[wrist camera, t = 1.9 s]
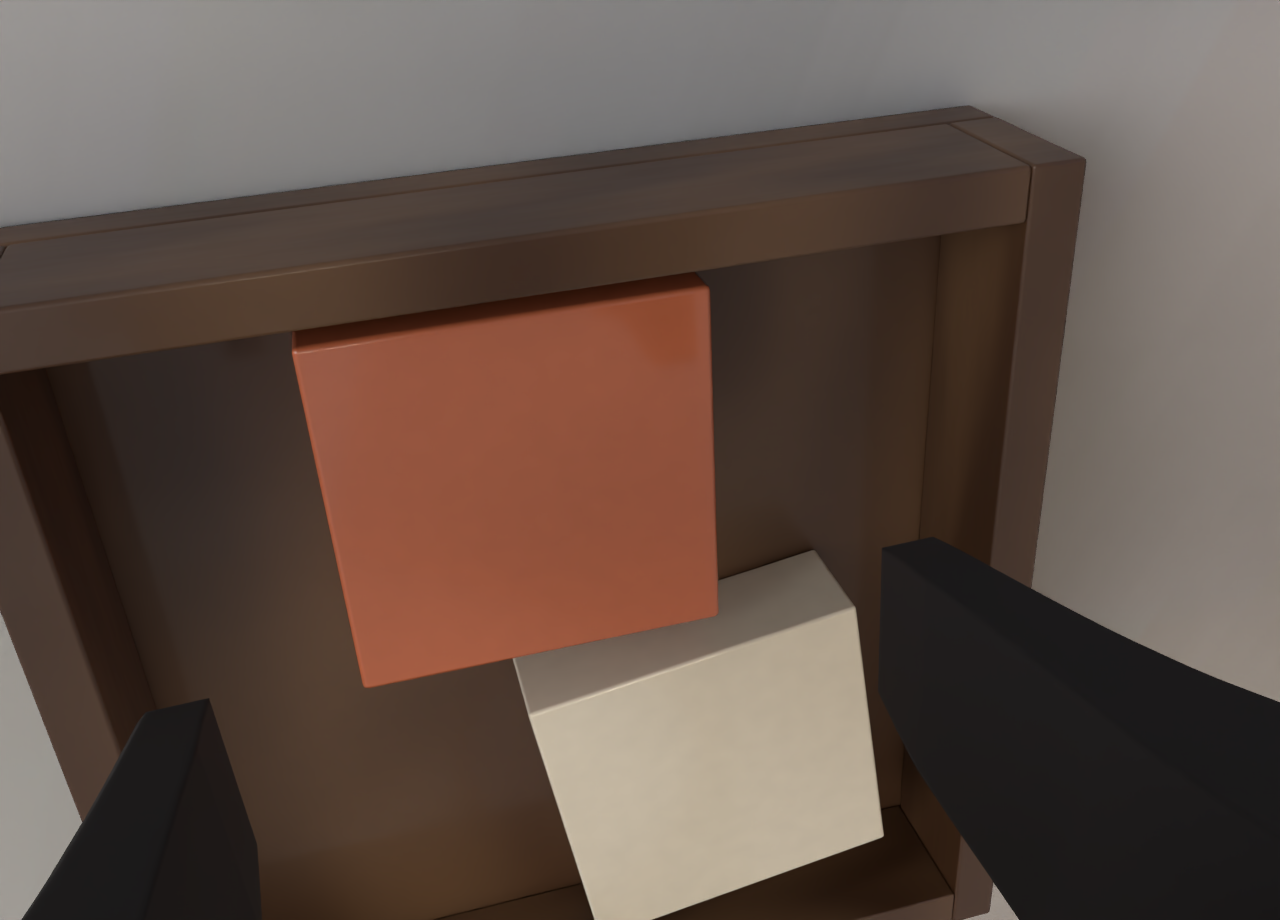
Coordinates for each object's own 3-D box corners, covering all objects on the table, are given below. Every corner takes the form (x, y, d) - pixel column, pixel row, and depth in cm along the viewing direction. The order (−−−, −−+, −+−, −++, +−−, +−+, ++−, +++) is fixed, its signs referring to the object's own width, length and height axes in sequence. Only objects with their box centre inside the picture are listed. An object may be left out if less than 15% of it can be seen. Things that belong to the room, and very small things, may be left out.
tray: (971, 104, 19) (1088, 157, 16) (915, 796, 26) (990, 913, 23) (-49, 232, 16) (-114, 324, 13) (207, 970, 23) (199, 1127, 20)
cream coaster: (815, 547, 21) (856, 606, 20) (846, 770, 24) (885, 837, 22) (509, 646, 20) (527, 715, 19) (579, 864, 23) (600, 940, 22)
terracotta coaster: (674, 242, 18) (712, 285, 16) (687, 555, 21) (721, 617, 19) (287, 298, 17) (290, 349, 15) (356, 620, 19) (362, 692, 18)
